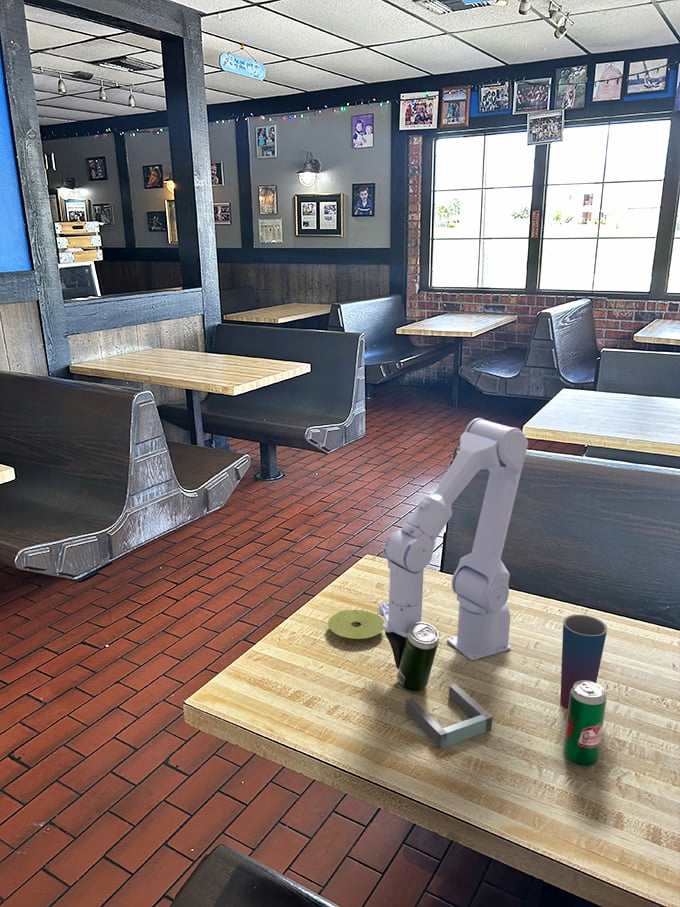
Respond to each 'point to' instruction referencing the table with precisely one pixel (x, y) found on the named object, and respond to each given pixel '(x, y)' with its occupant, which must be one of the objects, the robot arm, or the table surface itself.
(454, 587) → the robot arm
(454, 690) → the dock
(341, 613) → the green disc with hole
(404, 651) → the beer can
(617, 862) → the table surface
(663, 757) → the table surface
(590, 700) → the soda can
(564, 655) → the cup
